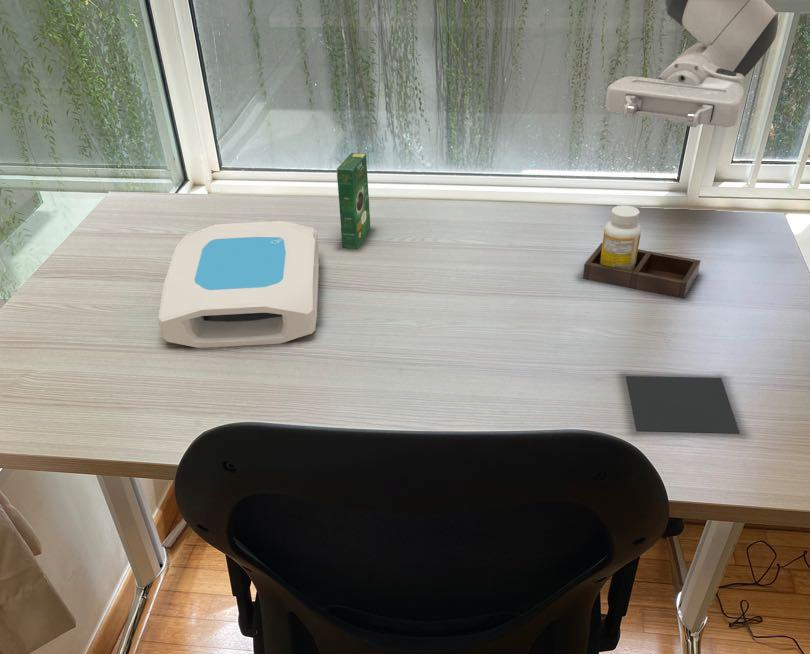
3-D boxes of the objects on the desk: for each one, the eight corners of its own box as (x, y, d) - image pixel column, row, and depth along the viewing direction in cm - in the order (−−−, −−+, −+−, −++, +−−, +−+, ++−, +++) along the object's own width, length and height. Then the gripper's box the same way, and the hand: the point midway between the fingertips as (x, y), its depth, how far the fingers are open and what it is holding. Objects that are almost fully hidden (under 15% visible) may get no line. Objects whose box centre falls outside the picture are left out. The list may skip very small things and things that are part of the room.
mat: (720, 380, 112) (721, 377, 112) (738, 436, 103) (739, 432, 103) (625, 379, 113) (625, 375, 113) (635, 434, 104) (636, 430, 104)
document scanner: (164, 352, 121) (154, 311, 117) (189, 262, 142) (182, 224, 138) (316, 343, 122) (311, 302, 117) (319, 255, 142) (315, 217, 138)
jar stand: (697, 277, 133) (700, 260, 131) (683, 301, 128) (686, 283, 126) (599, 259, 138) (601, 242, 136) (582, 281, 133) (584, 263, 131)
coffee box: (355, 230, 149) (350, 150, 140) (371, 231, 149) (367, 151, 140) (341, 250, 143) (334, 168, 135) (357, 251, 143) (352, 170, 134)
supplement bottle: (618, 284, 131) (627, 221, 125) (591, 272, 134) (599, 210, 128) (641, 272, 134) (651, 210, 127) (614, 261, 137) (623, 200, 130)
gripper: (623, 61, 139) (594, 85, 130) (754, 75, 132) (733, 102, 123) (617, 103, 144) (589, 129, 135) (744, 119, 136) (723, 148, 127)
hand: (659, 116), depth 129 cm, fingers open, 8 cm apart
